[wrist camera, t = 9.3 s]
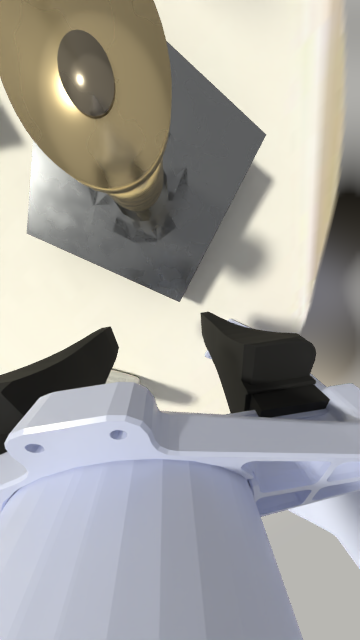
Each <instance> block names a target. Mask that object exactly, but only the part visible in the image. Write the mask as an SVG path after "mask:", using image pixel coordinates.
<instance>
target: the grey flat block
mask: <svg viewBox="0 0 360 640" xmlns="http://www.w3.org/2000/svg"><path fill="white" fill-rule="evenodd" d="M166 43H167V48H168V54H169V60H170V68H171V79H172V102H171V123H170V132H169V137H168V142H167V146H166V149H165V152H164V155H163V176H164V179H163V187H162V191H161V194H160V196H159V198H158V200H157V201H156V202H155V204H154V205H152V206H151V207H150V208H148V209H146V210H143V211H131V210H128V209H126V208H123V207H122V206H120V205H119V204H118V203H117V202H116V201H114V200H113V199H112V198H111V197H110V196H109V195H108V194H106V193H103V192H99V191H96V190H93V189H91V188H89V187H87V186H85V185H83V184H82V183H80V182H79V181H77V180H76V179H74V178H73V177H71V176H70V175H69V174H67V173H66V172H65V171H63V170H62V169H61V168H60V167H58V166H57V165H56V164H55V163H54V162H53V161H52V160H51V159H49V158H48V157H47V156H46V155H45V154H44V152H43V151H42V150H41V149H40V148H39V147H38V145H37V144H36V143H35V142H34V140H33V151H32V165H31V180H30V194H29V209H28V223H27V234H29V235H32V236H34V237H36V238H38V239H41V240H43V241H45V242H47V243H49V244H52V245H54V246H56V247H58V248H61V249H63V250H65V251H67V252H69V253H72V254H74V255H76V256H78V257H81V258H83V259H85V260H87V261H89V262H92V263H94V264H96V265H98V266H101V267H103V268H105V269H107V270H109V271H112V272H114V273H116V274H118V275H121V276H123V277H125V278H127V279H130V280H132V281H134V282H136V283H138V284H141V285H143V286H145V287H147V288H150V289H152V290H154V291H156V292H158V293H161V294H163V295H165V296H167V297H170V298H172V299H174V300H176V301H178V302H180V300H181V299H182V297H183V295H184V293H185V291H186V289H187V287H188V285H189V283H190V281H191V279H192V277H193V275H194V273H195V271H196V270H197V268H198V266H199V264H200V262H201V260H202V258H203V256H204V254H205V252H206V250H207V248H208V246H209V244H210V242H211V240H212V239H213V237H214V235H215V233H216V231H217V229H218V227H219V225H220V223H221V221H222V219H223V217H224V215H225V213H226V211H227V210H228V208H229V206H230V204H231V202H232V200H233V198H234V196H235V194H236V192H237V190H238V188H239V186H240V184H241V182H242V180H243V179H244V177H245V175H246V173H247V171H248V169H249V167H250V165H251V163H252V161H253V159H254V157H255V155H256V153H257V151H258V150H259V148H260V146H261V144H262V142H263V140H264V138H265V136H266V134H265V133H264V132H263V131H262V130H261V129H260V128H259V127H258V126H256V125H255V124H254V123H253V122H252V121H251V120H250V119H249V118H248V117H247V116H246V115H245V114H244V113H243V112H242V111H240V110H239V109H238V108H237V107H236V106H235V105H234V104H233V103H232V102H231V101H230V100H229V99H228V98H227V97H226V96H225V95H223V94H222V93H221V92H220V91H219V90H218V89H217V88H216V87H215V86H214V85H213V84H212V83H211V82H210V81H209V80H207V79H206V78H205V77H204V76H203V75H202V74H201V73H200V72H199V71H198V70H197V69H196V68H195V67H194V66H193V65H191V64H190V63H189V62H188V61H187V60H186V59H185V58H184V57H183V56H182V55H181V54H180V53H179V52H178V51H177V50H175V49H174V48H173V47H172V46H171V45H170V44H169V43H168V42H167V41H166Z"/></svg>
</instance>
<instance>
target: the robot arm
mask: <svg viewBox="0 0 360 640" xmlns="http://www.w3.org/2000/svg"><path fill="white" fill-rule="evenodd" d="M201 325H202V336H203V339H204V342H205V345H206V347H207V349H208V350H207V351H206V353H205V357H207V358H209V359H212V360H213V362H214V364H215V367H216V369H217V372H218V375H219V378H220V381H221V384H222V387H223V390H224V393H225V396H226V399H227V403H228V406H229V409H230V412H231V413H230V414H226V415H219V414H203V413H186V412H170V411H160V410H159V409H158V407H157V404H156V401H155V398H154V396H153V395H152V393H151V392H150V391H149V390H148V388H146V387H144V386H142V385H140V384H137V383H135V382H115V383H108V384H105V383H106V381H107V379H108V376H109V374H110V372H111V369H112V367H113V365H114V362H115V360H116V357H117V353H118V349H119V347H118V344H117V341H116V339H115V336H114V334H113V331H112V329H111V327H105V328H101V329H99V330H97V331H95V332H94V333H92V334H90V335H88V336H87V337H85V338H83V339H82V340H80V341H78V342H77V343H75V344H73V345H71V346H69V347H68V348H66V349H64V350H62V351H60V352H58V353H56V354H54V355H52V356H50V357H47V358H45V359H43V360H40V361H38V362H36V363H33V364H31V365H28V366H26V367H23V368H20V369H17V370H15V371H12V372H9V373H6V374H3V375H0V640H303V638H302V635H301V632H300V629H299V626H298V624H297V621H296V618H295V615H294V612H293V609H292V606H291V603H290V601H289V597H288V595H287V592H286V589H285V586H284V583H283V580H282V578H281V574H280V572H279V569H278V566H277V563H276V560H275V557H274V554H273V551H272V549H271V545H270V543H269V540H268V537H267V534H266V531H265V528H264V525H263V522H262V520H261V517H262V516H266V515H270V514H273V513H277V512H281V511H284V510H289V511H290V512H292V513H294V514H296V515H298V516H299V517H302V518H303V519H305V520H308V521H309V522H311V523H313V524H315V525H317V526H319V527H321V528H323V529H325V530H326V531H328V532H330V533H332V534H333V535H334V536H336V537H337V538H338V540H339V541H340V542H341V544H342V545H343V547H344V548H345V550H346V551H347V552H348V554H349V555H350V556H351V558H352V559H353V561H354V562H355V564H356V565H357V566H358V568H359V569H360V389H359V388H358V387H357V386H355V385H354V384H353V383H347V384H341V385H334V386H329V387H326V386H325V385H323V384H322V383H321V382H320V381H319V380H318V379H317V378H315V377H314V376H313V375H312V374H311V373H310V372H311V369H312V367H313V364H314V361H315V356H316V350H315V347H314V346H313V344H312V343H310V342H309V341H307V340H305V339H304V338H303V337H301V336H300V335H299V334H296V333H278V332H269V331H262V330H256V329H252V328H250V327H247V326H245V325H243V324H241V323H239V322H237V321H234V320H232V319H229V320H228V321H227V320H224V319H222V318H220V317H218V316H216V315H214V314H212V313H210V312H203V313H201Z"/></svg>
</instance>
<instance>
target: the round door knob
mask: <svg viewBox="0 0 360 640" xmlns="http://www.w3.org/2000/svg"><path fill="white" fill-rule="evenodd" d="M0 77H1V80H2V83H3V86H4V88H5V90H6V93H7V95H8V98H9V100H10V102H11V104H12V106H13V108H14V110H15V112H16V114H17V116H18V117H19V119H20V121H21V122H22V124H23V126H24V127H25V129H26V131H27V132H28V133H29V135H30V136H31V138H32V139H33V140H34V142H35V143H36V144H37V145H38V147H39V148H40V149H41V150H42V151H43V152H44V154H45V155H46V156H47V157H48V158H49V159H51V160H52V161H53V162H54V163H55V164H56V165H57V166H58V167H60V168H61V169H62V170H63V171H65V172H66V173H67V174H69V175H70V176H71V177H73V178H74V179H76V180H77V181H79V182H80V183H82V184H83V185H85V186H87V187H89V188H91V189H93V190H96V191H99V192H103V193H106V194H108V195H109V196H110V197H111V198H112V199H113V200H114V201H116V202H117V203H118V204H119V205H120V206H122V207H123V208H126V209H128V210H131V211H143V210H146V209H148V208H150V207H151V206H152V205H154V204H155V202H156V201H157V200H158V198H159V196H160V194H161V191H162V187H163V179H164V176H163V155H164V152H165V149H166V146H167V142H168V137H169V132H170V123H171V102H172V79H171V68H170V60H169V54H168V48H167V43H166V39H165V35H164V31H163V27H162V23H161V20H160V17H159V14H158V12H157V9H156V6H155V3H154V1H153V0H0Z"/></svg>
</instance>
